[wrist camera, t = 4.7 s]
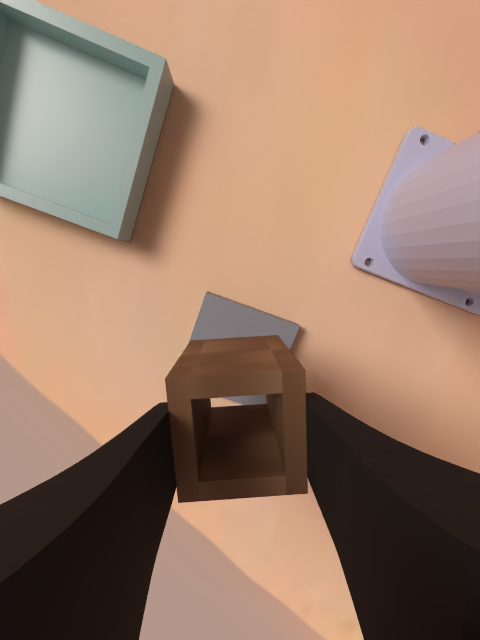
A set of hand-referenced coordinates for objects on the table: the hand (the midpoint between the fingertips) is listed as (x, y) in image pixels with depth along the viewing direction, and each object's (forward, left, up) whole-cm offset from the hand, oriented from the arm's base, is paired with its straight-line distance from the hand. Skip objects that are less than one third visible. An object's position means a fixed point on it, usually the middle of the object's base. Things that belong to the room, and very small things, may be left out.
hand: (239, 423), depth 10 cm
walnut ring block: (0, 0, -4) cm, 4 cm away
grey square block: (0, 0, -8) cm, 8 cm away
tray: (+12, -9, -8) cm, 17 cm away
